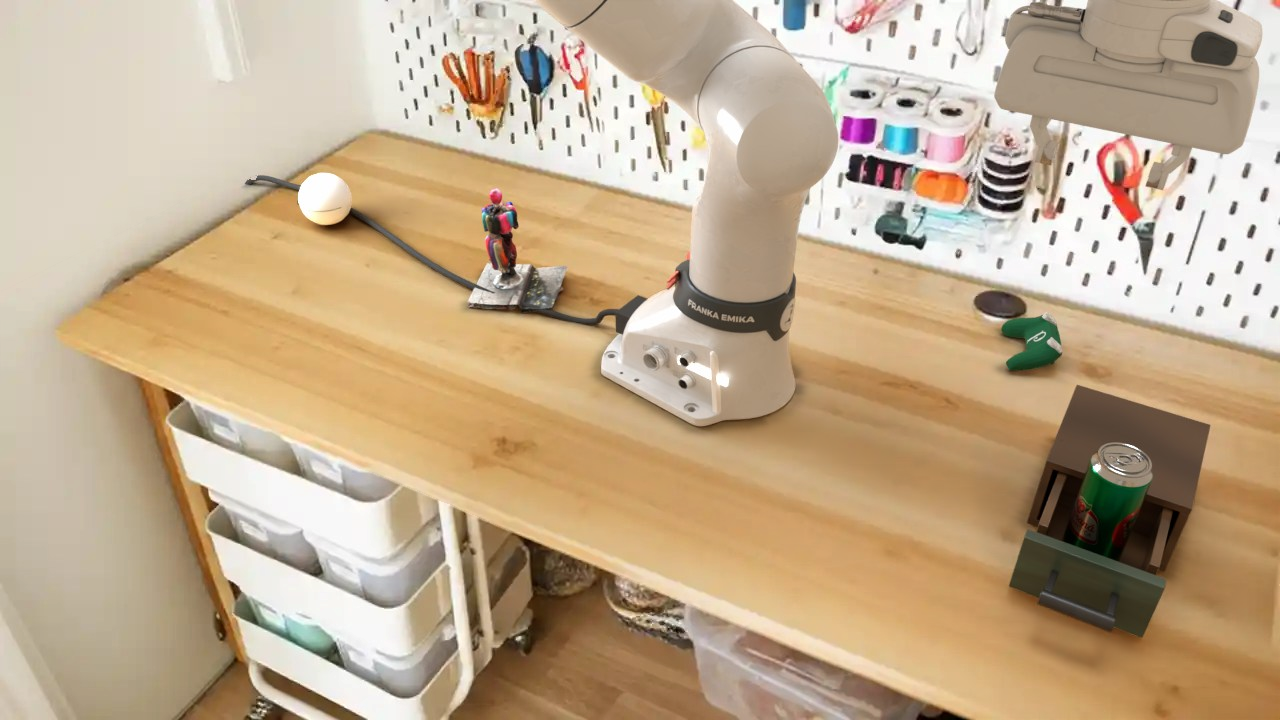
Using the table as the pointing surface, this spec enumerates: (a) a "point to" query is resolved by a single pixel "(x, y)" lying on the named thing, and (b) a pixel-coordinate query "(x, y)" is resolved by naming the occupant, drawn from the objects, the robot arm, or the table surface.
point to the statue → (511, 266)
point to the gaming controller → (1034, 342)
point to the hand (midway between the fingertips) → (1098, 173)
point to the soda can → (1109, 500)
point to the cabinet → (1144, 427)
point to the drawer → (1093, 566)
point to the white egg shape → (325, 198)
